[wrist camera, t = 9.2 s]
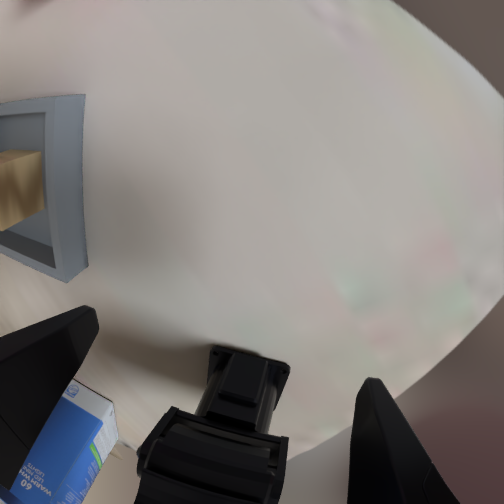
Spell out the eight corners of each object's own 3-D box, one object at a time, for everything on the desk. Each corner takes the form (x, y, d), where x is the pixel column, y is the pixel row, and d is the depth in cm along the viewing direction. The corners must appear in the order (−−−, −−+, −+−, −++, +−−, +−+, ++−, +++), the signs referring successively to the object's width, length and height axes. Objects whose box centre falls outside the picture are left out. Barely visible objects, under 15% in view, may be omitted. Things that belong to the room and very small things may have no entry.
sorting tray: (88, 265, 23) (66, 283, 21) (2, 232, 25) (-17, 243, 22) (85, 94, 17) (55, 96, 14) (-7, 104, 19) (-30, 109, 16)
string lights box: (70, 375, 34) (-26, 508, 11) (116, 402, 33) (25, 551, 10) (82, 417, 40) (13, 525, 17) (121, 439, 39) (56, 555, 17)
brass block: (44, 208, 21) (2, 231, 17) (14, 200, 22) (-25, 220, 18) (41, 151, 19) (-7, 166, 15) (10, 149, 20) (-32, 163, 15)
